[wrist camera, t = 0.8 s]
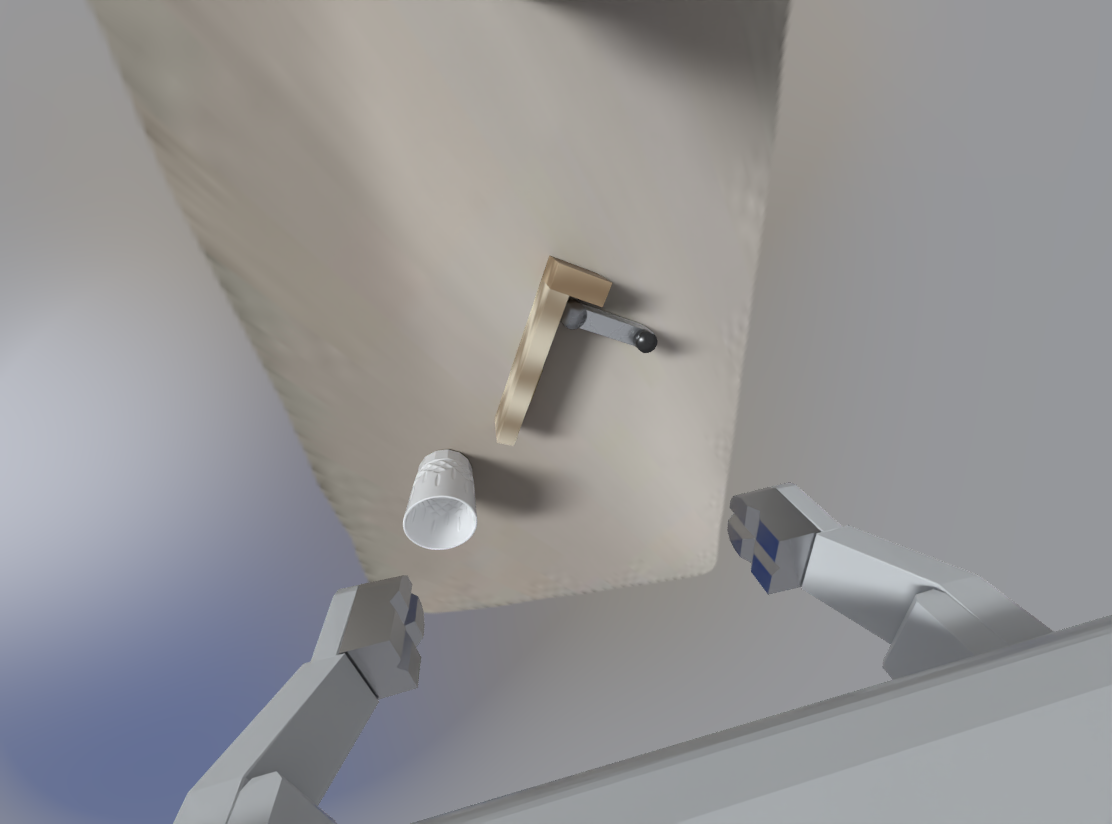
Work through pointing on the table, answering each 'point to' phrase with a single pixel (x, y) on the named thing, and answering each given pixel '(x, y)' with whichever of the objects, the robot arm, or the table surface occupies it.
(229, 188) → the table surface
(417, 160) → the table surface
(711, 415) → the table surface
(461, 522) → the white cup
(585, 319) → the crank handle
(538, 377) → the wooden l-bracket
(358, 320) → the table surface
